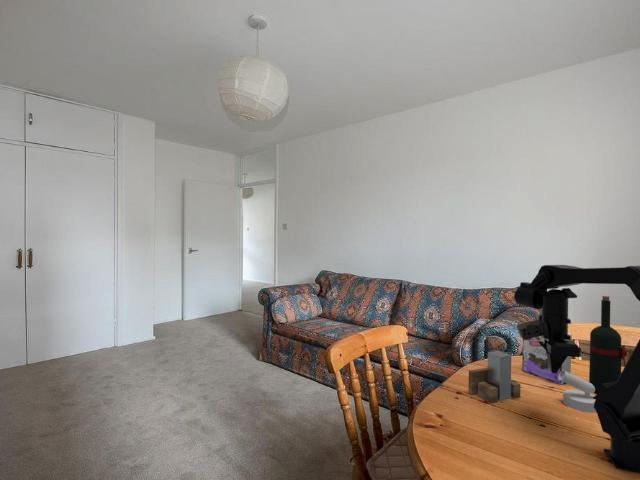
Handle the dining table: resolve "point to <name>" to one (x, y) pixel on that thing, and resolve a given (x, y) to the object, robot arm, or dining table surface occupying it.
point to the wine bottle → (605, 350)
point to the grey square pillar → (500, 373)
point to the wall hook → (578, 393)
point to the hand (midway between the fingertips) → (553, 372)
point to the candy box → (541, 361)
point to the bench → (487, 386)
